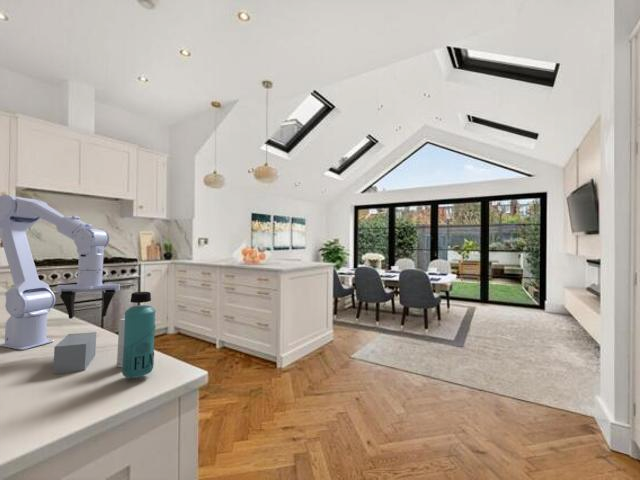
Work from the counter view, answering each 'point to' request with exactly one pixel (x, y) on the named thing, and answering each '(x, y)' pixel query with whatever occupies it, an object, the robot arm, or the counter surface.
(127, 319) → the beverage bottle
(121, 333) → the skincare box
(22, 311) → the robot arm
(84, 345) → the tall gray prism
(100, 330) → the counter surface
